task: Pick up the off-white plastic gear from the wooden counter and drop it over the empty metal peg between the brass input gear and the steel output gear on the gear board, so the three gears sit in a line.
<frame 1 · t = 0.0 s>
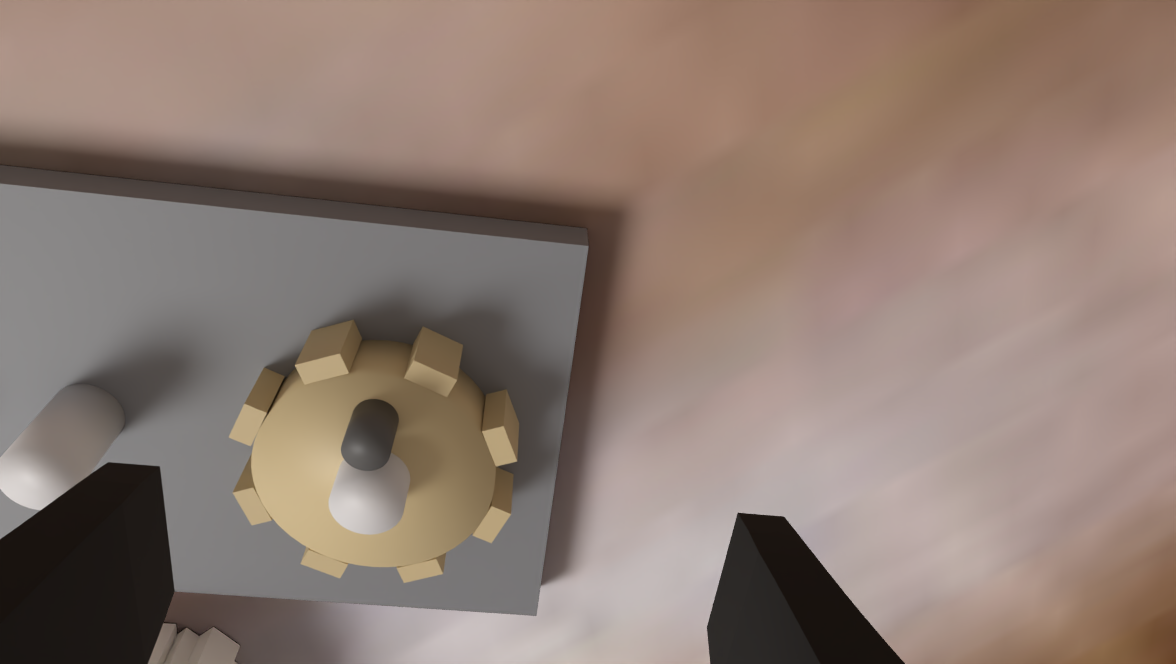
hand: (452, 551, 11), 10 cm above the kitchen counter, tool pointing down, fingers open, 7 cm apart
gear board: (107, 390, 22), on the kitchen counter
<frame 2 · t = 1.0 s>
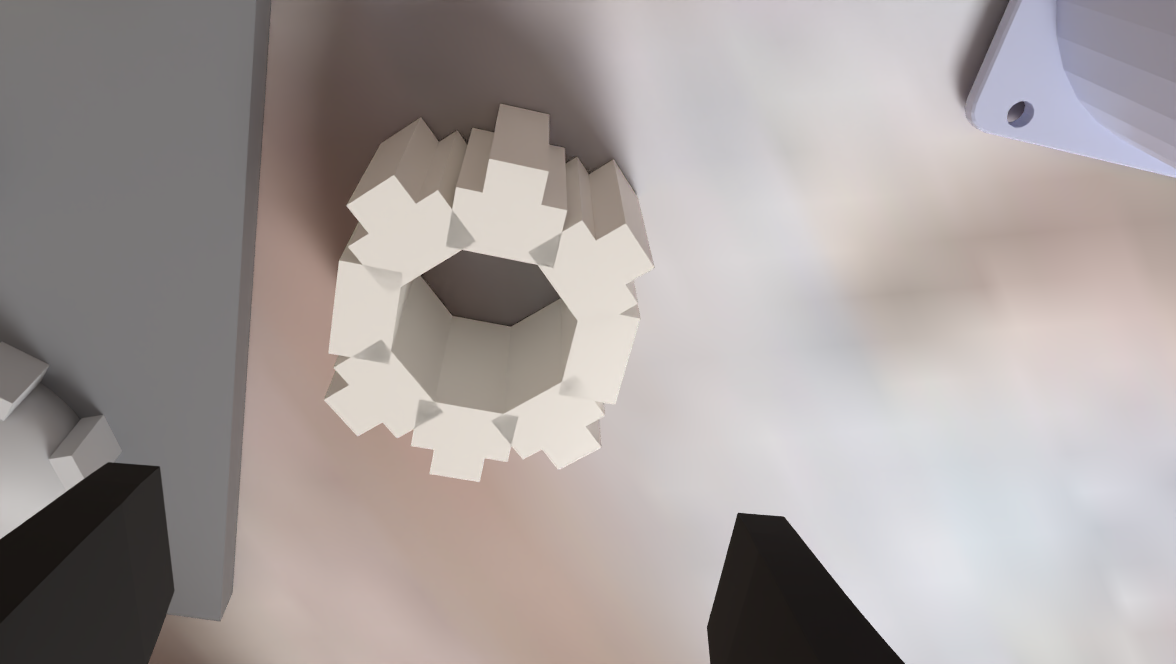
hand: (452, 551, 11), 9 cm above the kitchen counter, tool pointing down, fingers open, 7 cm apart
loose gear: (494, 257, 19), on the kitchen counter
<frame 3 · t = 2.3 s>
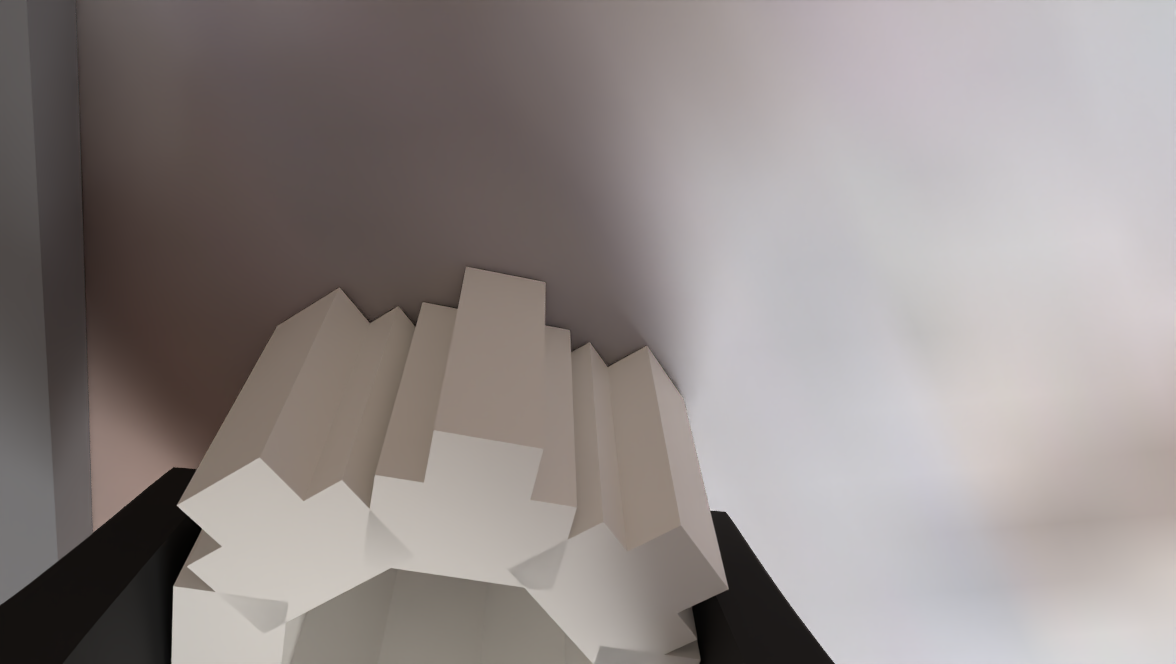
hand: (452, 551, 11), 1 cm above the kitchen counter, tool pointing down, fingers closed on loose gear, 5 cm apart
loose gear: (462, 482, 13), on the kitchen counter, touching gripper
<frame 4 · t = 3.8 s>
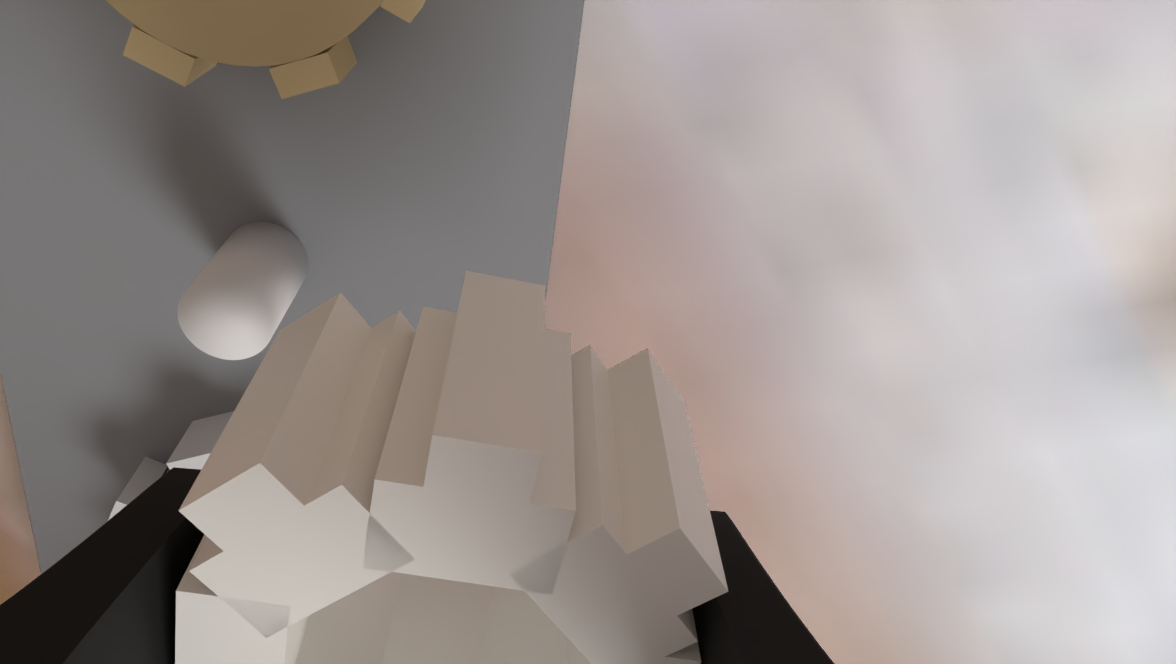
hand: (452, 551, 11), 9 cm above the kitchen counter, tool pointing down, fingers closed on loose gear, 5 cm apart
gear board: (280, 239, 19), on the kitchen counter
loose gear: (464, 485, 13), point 7 cm above the kitchen counter, touching gripper
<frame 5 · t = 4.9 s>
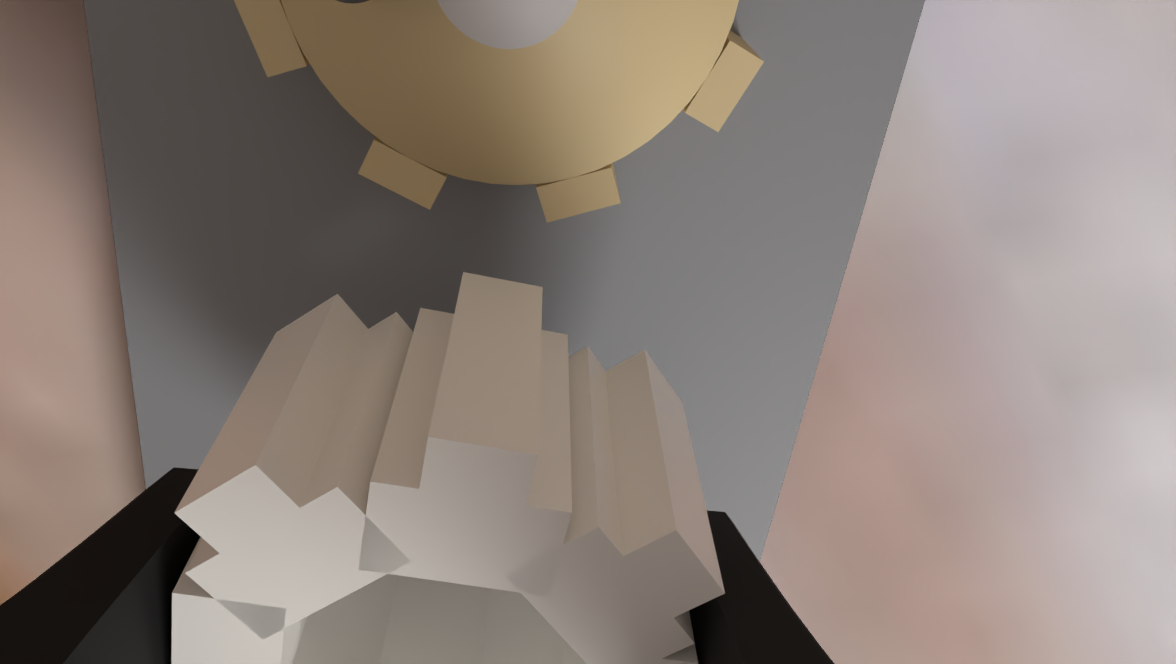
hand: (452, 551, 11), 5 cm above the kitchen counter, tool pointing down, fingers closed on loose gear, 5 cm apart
gear board: (481, 359, 16), on the kitchen counter
loose gear: (462, 486, 13), point 3 cm above the kitchen counter, touching gripper
when the fingers open (3 cm above the kitchen counter, at t = 5.7 s): loose gear stays where it is, resting on gear board.
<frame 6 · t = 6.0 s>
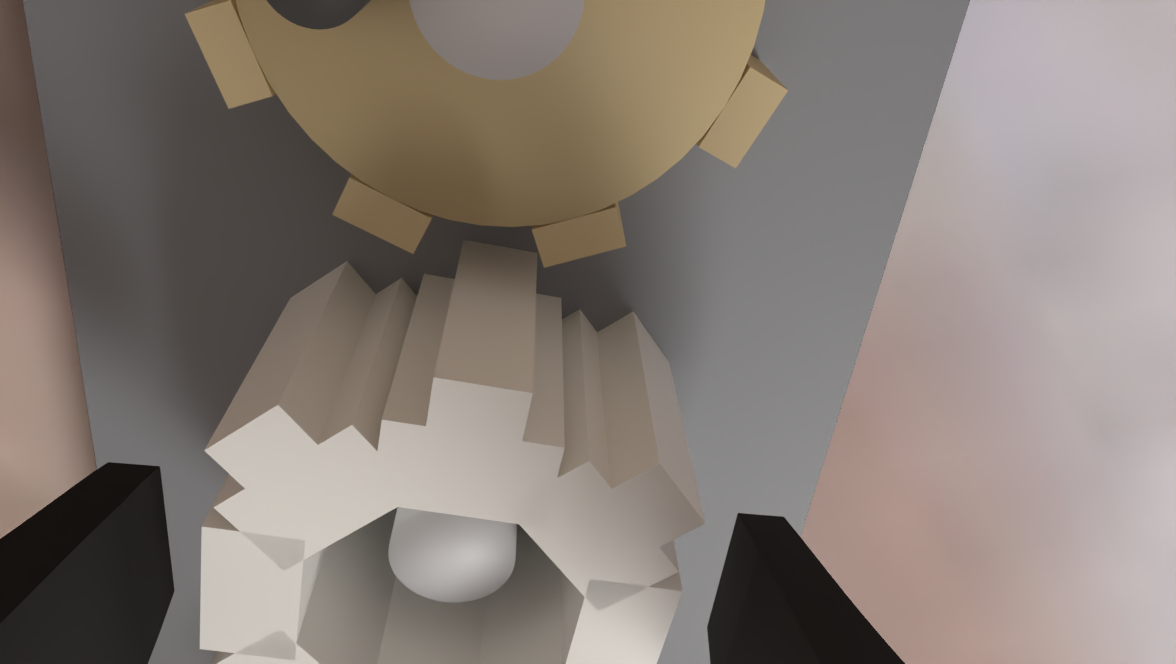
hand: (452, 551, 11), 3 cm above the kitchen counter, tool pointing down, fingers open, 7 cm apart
gear board: (473, 403, 14), on the kitchen counter
loose gear: (464, 443, 14), point 1 cm above the kitchen counter, touching gear board
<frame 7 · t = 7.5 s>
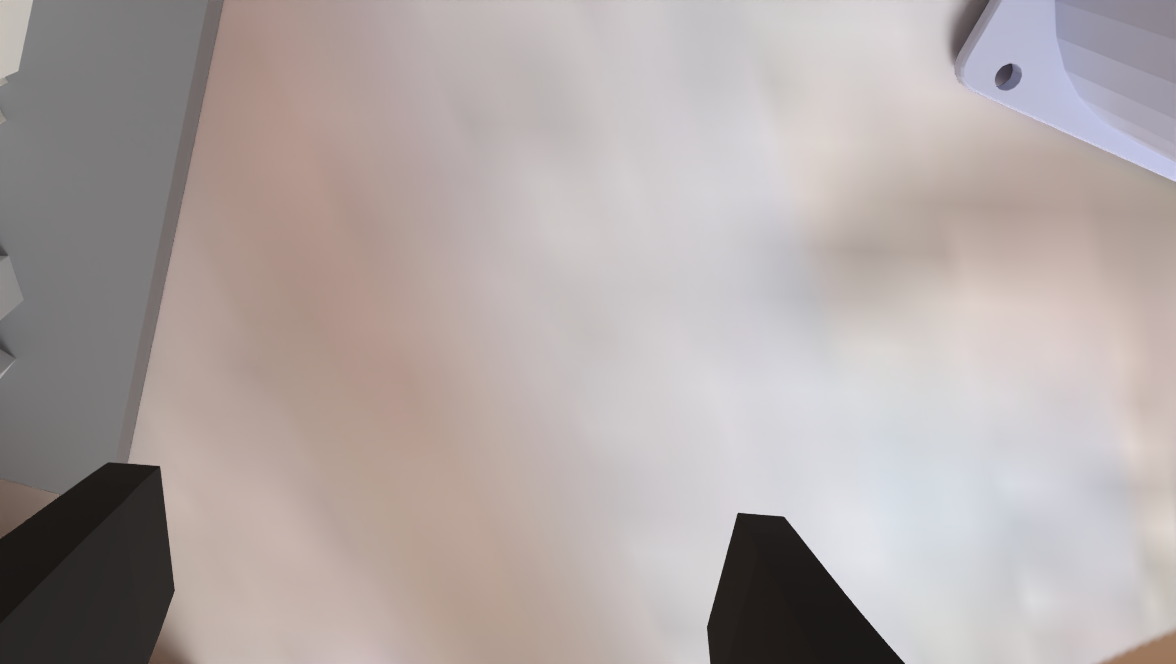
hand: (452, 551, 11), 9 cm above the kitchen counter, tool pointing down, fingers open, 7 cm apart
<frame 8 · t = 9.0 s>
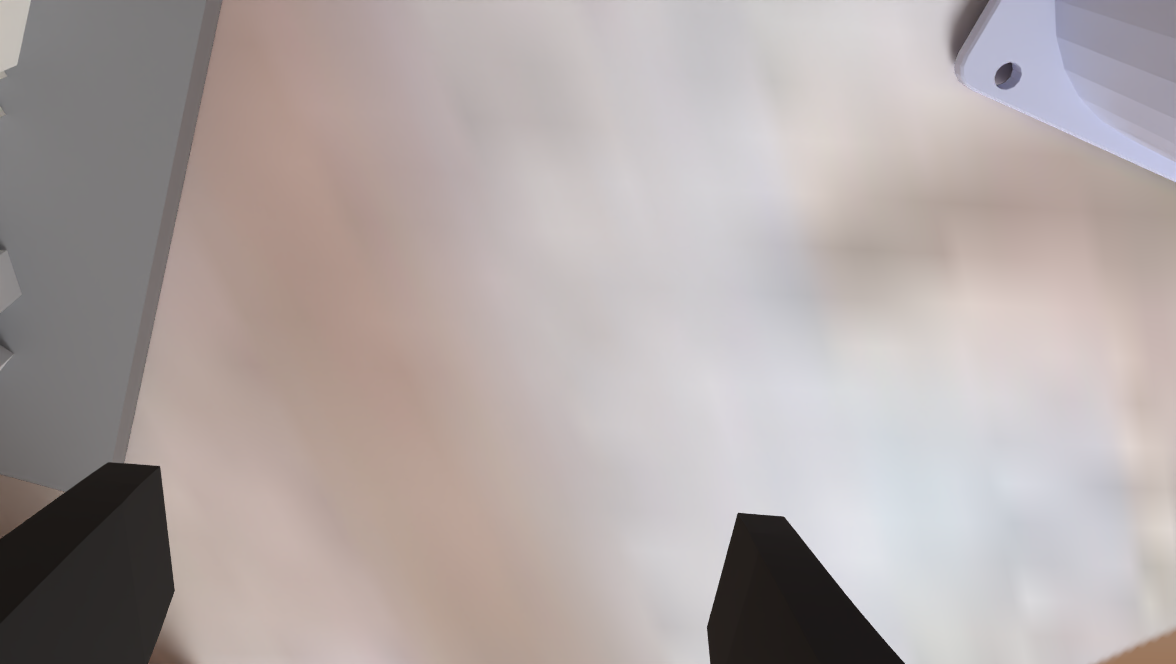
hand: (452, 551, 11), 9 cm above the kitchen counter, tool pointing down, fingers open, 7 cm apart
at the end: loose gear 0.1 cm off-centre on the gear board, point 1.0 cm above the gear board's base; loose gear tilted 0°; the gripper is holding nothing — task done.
